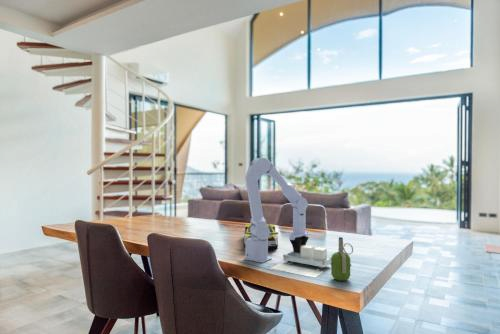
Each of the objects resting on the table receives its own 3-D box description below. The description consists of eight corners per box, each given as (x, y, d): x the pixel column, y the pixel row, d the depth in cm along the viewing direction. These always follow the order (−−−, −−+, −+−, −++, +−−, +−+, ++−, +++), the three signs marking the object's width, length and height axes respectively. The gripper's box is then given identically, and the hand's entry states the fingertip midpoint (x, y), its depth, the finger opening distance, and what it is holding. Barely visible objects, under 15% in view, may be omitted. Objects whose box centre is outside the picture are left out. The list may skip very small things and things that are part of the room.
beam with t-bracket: (283, 262, 135) (283, 254, 135) (298, 255, 146) (298, 248, 146) (324, 270, 125) (324, 262, 125) (336, 262, 136) (336, 254, 136)
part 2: (313, 261, 129) (313, 249, 129) (317, 259, 132) (317, 247, 132) (322, 263, 127) (322, 250, 127) (326, 261, 130) (326, 248, 130)
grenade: (347, 276, 118) (347, 235, 118) (355, 284, 110) (355, 240, 110) (327, 276, 118) (327, 235, 118) (334, 284, 110) (334, 240, 110)
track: (269, 268, 127) (269, 268, 127) (291, 258, 142) (291, 258, 142) (314, 278, 116) (314, 277, 116) (333, 266, 131) (333, 266, 131)
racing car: (273, 234, 192) (273, 214, 191) (279, 254, 153) (279, 229, 153) (245, 234, 192) (245, 214, 192) (243, 254, 153) (243, 229, 153)
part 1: (300, 259, 132) (300, 247, 132) (305, 257, 135) (305, 245, 135) (309, 260, 130) (309, 248, 130) (314, 258, 133) (314, 246, 133)
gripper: (299, 226, 138) (299, 258, 138) (314, 222, 150) (314, 251, 149) (285, 224, 142) (285, 255, 142) (300, 220, 154) (300, 249, 153)
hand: (299, 253), depth 146 cm, fingers closed on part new, 4 cm apart
